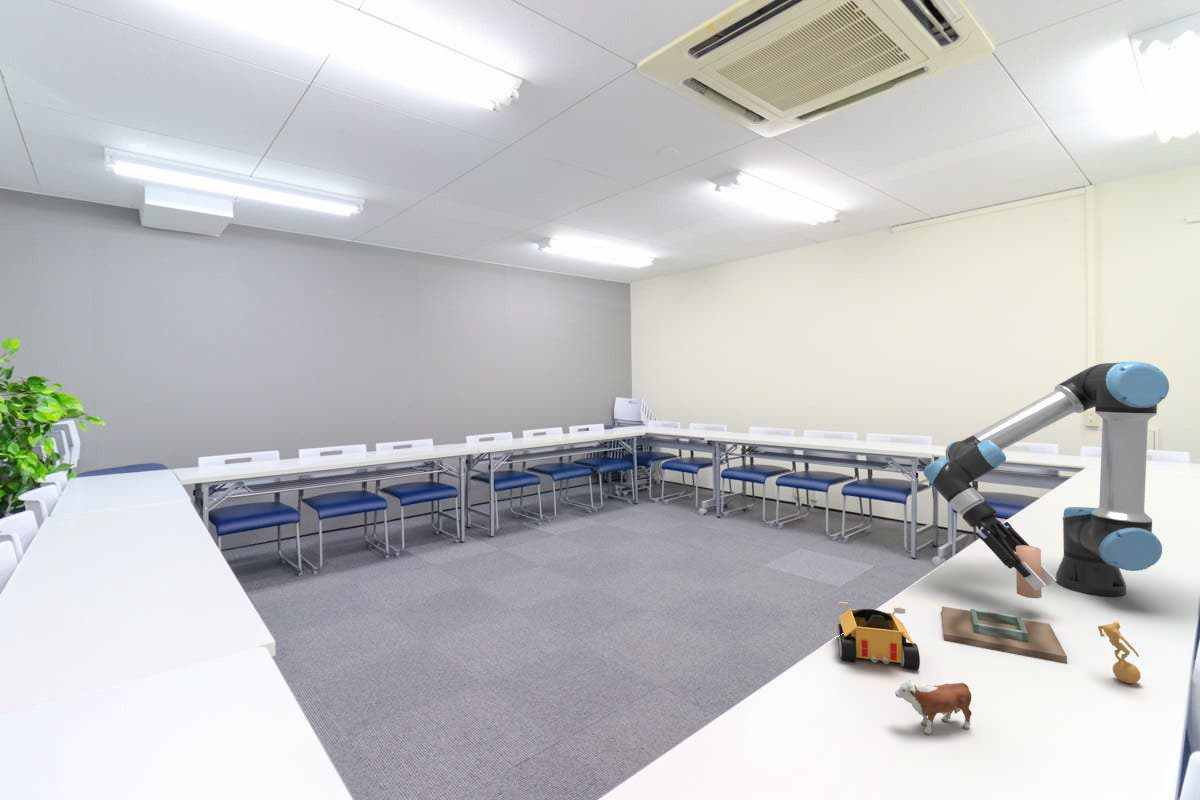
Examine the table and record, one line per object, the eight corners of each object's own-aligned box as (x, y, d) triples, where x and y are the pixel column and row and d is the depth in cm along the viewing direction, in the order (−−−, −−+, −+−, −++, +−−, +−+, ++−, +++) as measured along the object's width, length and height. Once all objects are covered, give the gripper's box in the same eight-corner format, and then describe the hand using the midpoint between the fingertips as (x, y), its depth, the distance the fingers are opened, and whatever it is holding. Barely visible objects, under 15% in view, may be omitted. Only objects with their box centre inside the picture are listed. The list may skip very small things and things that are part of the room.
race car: (904, 644, 124) (904, 599, 124) (921, 677, 110) (921, 626, 110) (834, 636, 129) (834, 592, 129) (842, 667, 115) (842, 618, 114)
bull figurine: (891, 721, 96) (891, 676, 96) (962, 716, 97) (961, 671, 97) (907, 737, 91) (907, 690, 91) (981, 731, 92) (981, 685, 92)
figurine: (1156, 694, 102) (1157, 632, 102) (1122, 693, 103) (1122, 631, 103) (1118, 671, 111) (1118, 613, 110) (1087, 670, 111) (1087, 613, 111)
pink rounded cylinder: (1039, 592, 138) (1038, 546, 138) (1043, 599, 134) (1042, 552, 134) (1015, 589, 141) (1014, 544, 141) (1018, 596, 137) (1017, 549, 137)
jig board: (1049, 629, 129) (1049, 615, 129) (1067, 663, 114) (1067, 647, 114) (941, 611, 141) (941, 598, 141) (944, 640, 125) (944, 625, 125)
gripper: (980, 511, 155) (1050, 585, 141) (945, 520, 146) (1016, 600, 132) (1000, 496, 150) (1075, 571, 136) (965, 504, 142) (1042, 585, 128)
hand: (1046, 585), depth 134 cm, fingers closed on pink rounded cylinder, 5 cm apart
